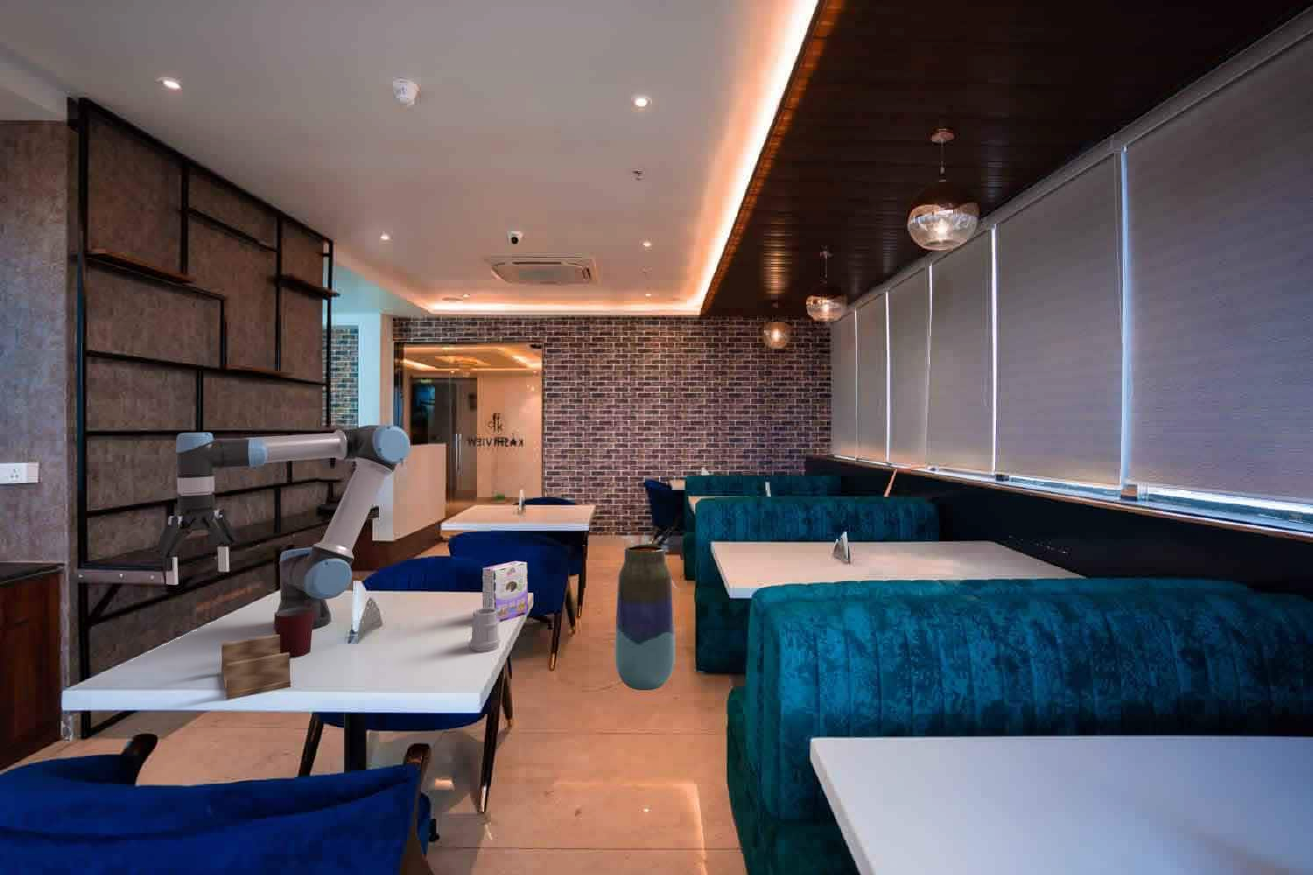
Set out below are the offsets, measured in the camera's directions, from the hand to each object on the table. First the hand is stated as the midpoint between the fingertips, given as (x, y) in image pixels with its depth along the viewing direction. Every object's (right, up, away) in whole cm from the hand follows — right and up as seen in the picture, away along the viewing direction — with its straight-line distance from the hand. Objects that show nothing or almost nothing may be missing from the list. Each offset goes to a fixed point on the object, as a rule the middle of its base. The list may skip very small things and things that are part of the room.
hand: (199, 577), depth 162 cm
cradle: (+21, -21, -12) cm, 32 cm away
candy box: (+68, -21, +39) cm, 82 cm away
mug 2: (+70, -21, +13) cm, 74 cm away
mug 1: (+21, -22, +8) cm, 31 cm away
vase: (+113, -21, -15) cm, 116 cm away
